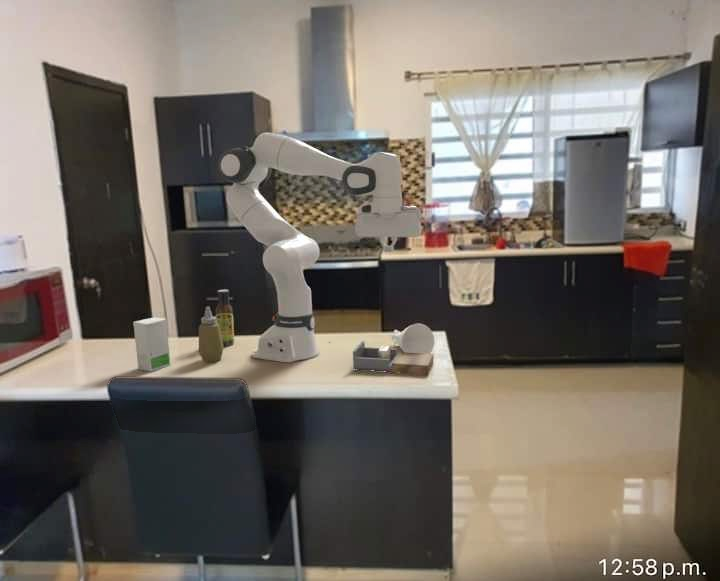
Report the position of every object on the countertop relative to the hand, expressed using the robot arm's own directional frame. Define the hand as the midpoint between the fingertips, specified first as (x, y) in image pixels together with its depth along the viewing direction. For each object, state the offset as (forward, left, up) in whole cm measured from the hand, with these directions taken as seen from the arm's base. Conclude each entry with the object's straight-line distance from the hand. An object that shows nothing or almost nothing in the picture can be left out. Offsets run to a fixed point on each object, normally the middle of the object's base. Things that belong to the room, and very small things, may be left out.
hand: (388, 251), depth 175 cm
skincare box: (-73, -21, -35) cm, 84 cm away
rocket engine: (+5, +11, -36) cm, 37 cm away
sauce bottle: (-62, +6, -35) cm, 72 cm away
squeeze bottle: (-58, -11, -35) cm, 69 cm away
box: (-3, -6, -35) cm, 36 cm away
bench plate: (+8, -6, -35) cm, 37 cm away
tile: (+1, -6, -32) cm, 32 cm away
